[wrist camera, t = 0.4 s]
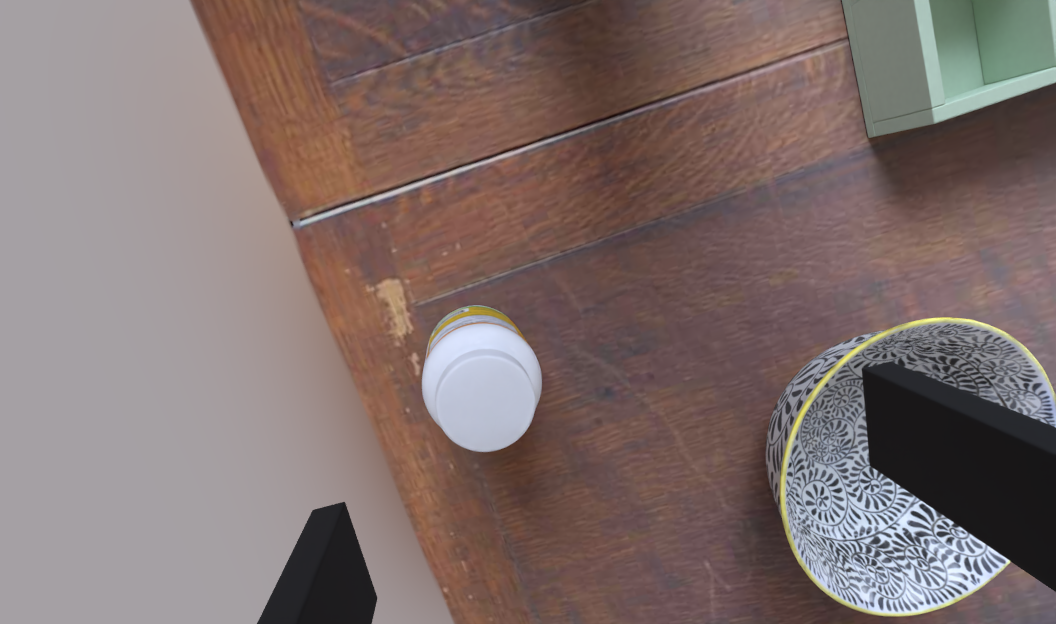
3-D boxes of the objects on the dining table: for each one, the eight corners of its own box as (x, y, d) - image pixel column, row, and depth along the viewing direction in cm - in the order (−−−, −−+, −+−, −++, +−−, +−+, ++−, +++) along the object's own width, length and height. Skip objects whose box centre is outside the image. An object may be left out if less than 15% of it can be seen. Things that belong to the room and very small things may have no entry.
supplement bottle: (511, 404, 32) (536, 480, 22) (418, 387, 31) (404, 458, 21) (532, 315, 31) (568, 353, 22) (439, 294, 30) (433, 325, 21)
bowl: (967, 316, 35) (1104, 339, 28) (908, 546, 37) (1020, 624, 30) (738, 281, 33) (821, 297, 25) (687, 530, 35) (751, 611, 27)
